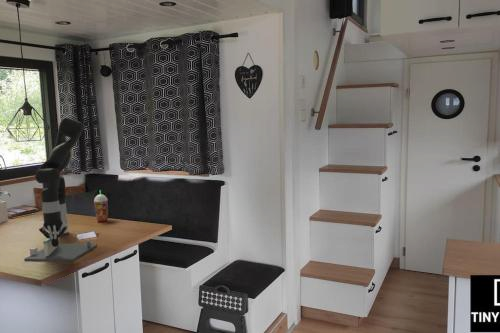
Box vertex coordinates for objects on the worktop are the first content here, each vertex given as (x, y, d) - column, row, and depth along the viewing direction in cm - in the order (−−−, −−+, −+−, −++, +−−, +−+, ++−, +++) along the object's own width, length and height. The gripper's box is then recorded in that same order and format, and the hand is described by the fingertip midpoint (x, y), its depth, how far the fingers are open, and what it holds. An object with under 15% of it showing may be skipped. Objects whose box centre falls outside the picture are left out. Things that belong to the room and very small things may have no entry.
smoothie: (97, 219, 278) (95, 189, 275) (110, 219, 278) (108, 188, 276) (93, 223, 269) (91, 191, 267) (107, 222, 270) (105, 190, 268)
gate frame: (23, 260, 202) (21, 240, 200) (52, 245, 224) (50, 227, 223) (72, 261, 198) (70, 241, 197) (97, 246, 221) (95, 228, 219)
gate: (53, 247, 217) (52, 233, 216) (57, 246, 217) (56, 232, 216) (44, 256, 202) (43, 241, 201) (48, 256, 202) (47, 241, 202)
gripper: (68, 207, 207) (72, 243, 209) (40, 209, 206) (44, 245, 208) (63, 211, 200) (67, 247, 202) (33, 213, 199) (37, 249, 201)
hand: (55, 246), depth 205 cm, fingers closed
